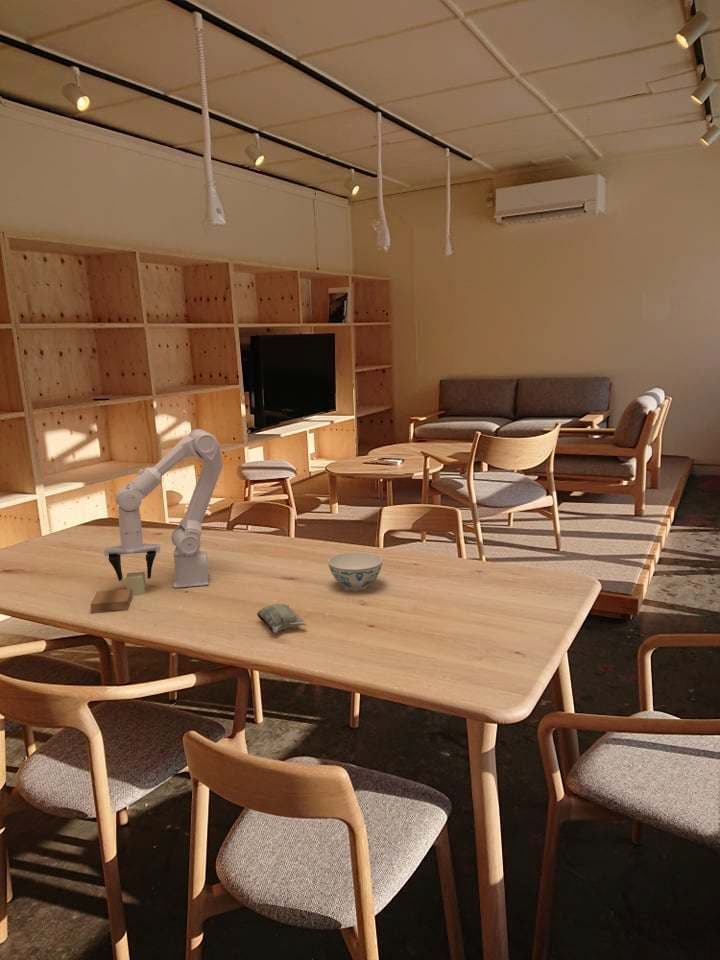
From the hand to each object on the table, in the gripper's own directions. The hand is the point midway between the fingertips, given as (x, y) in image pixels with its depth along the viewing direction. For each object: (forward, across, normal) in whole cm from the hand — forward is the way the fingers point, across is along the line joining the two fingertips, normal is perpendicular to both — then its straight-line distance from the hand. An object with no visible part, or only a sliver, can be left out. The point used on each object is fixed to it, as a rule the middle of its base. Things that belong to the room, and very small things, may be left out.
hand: (135, 578), depth 193 cm
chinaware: (+4, +60, -11) cm, 61 cm away
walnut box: (+4, -5, -9) cm, 11 cm away
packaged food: (+4, +38, -33) cm, 50 cm away
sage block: (+4, 0, 0) cm, 4 cm away
